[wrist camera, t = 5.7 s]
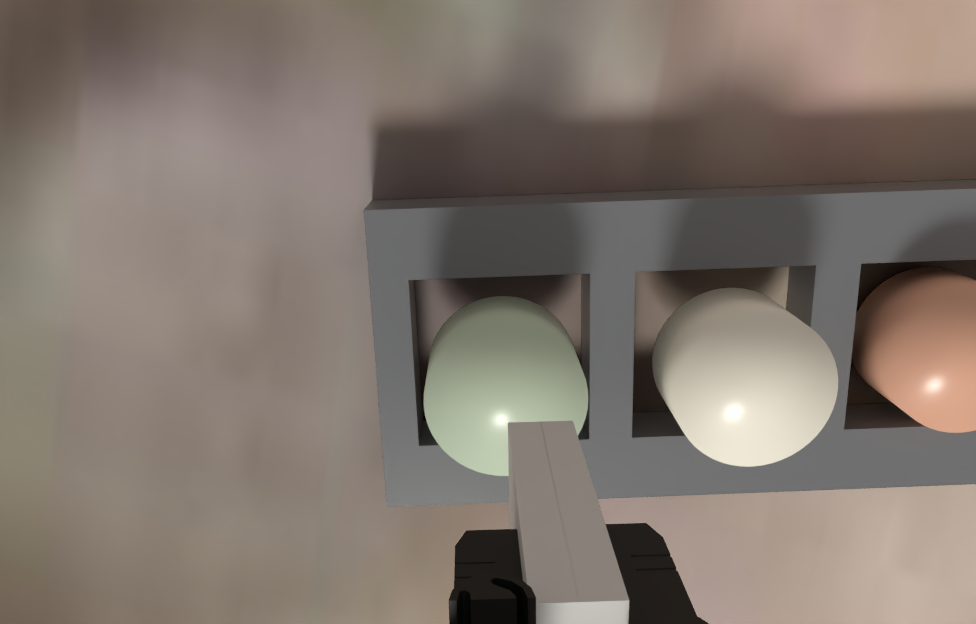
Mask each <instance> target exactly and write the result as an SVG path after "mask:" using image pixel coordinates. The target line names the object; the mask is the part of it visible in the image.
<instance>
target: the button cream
mask: <svg viewBox="0 0 976 624" xmlns="http://www.w3.org/2000/svg"><path fill="white" fill-rule="evenodd" d="M652 370H653V376H654V380H655V383H656V386H657V388H658V390H659V392H660V394H661V396H662V398H663V399H664V401H665V403H666V404H667V406H668V408H669V409H670V411H671V413H672V414H673V416H674V418H675V419H676V421H677V423H678V424H679V426H680V428H681V429H682V431H683V433H684V434H685V435H686V437H687V438H688V440H689V441H690V442H691V443H692V444H693V445H694V446H695V447H696V448H697V449H698V450H699V451H701V452H702V453H703V454H705V455H707V456H708V457H710V458H712V459H714V460H717V461H719V462H722V463H725V464H729V465H734V466H744V467H752V466H762V465H767V464H771V463H774V462H777V461H780V460H783V459H785V458H787V457H789V456H791V455H793V454H795V453H796V452H798V451H800V450H801V449H802V448H804V447H805V446H806V445H807V444H809V443H810V442H811V441H812V440H813V439H814V438H815V437H816V436H817V435H818V433H819V432H820V431H821V430H822V428H823V427H824V426H825V424H826V422H827V421H828V419H829V417H830V415H831V413H832V411H833V408H834V405H835V402H836V398H837V392H838V372H837V367H836V363H835V360H834V357H833V355H832V353H831V350H830V349H829V347H828V346H827V344H826V342H825V341H824V340H823V339H822V338H821V337H820V335H819V334H817V333H816V332H815V331H814V330H813V329H812V328H810V327H809V326H808V325H806V324H805V323H803V322H802V321H801V320H799V319H798V318H797V317H795V316H794V315H792V314H791V313H790V312H788V311H787V310H786V309H784V308H783V307H781V306H780V305H779V304H777V303H776V302H775V301H773V300H772V299H770V298H768V297H767V296H765V295H763V294H761V293H758V292H756V291H752V290H749V289H743V288H720V289H715V290H711V291H707V292H705V293H702V294H699V295H697V296H695V297H693V298H692V299H690V300H688V301H687V302H685V303H684V304H683V305H681V306H680V307H679V308H678V309H677V310H675V312H674V313H673V314H672V315H671V316H670V317H669V318H668V320H667V321H666V322H665V324H664V325H663V327H662V329H661V331H660V332H659V334H658V337H657V339H656V342H655V346H654V350H653V357H652Z"/></svg>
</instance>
